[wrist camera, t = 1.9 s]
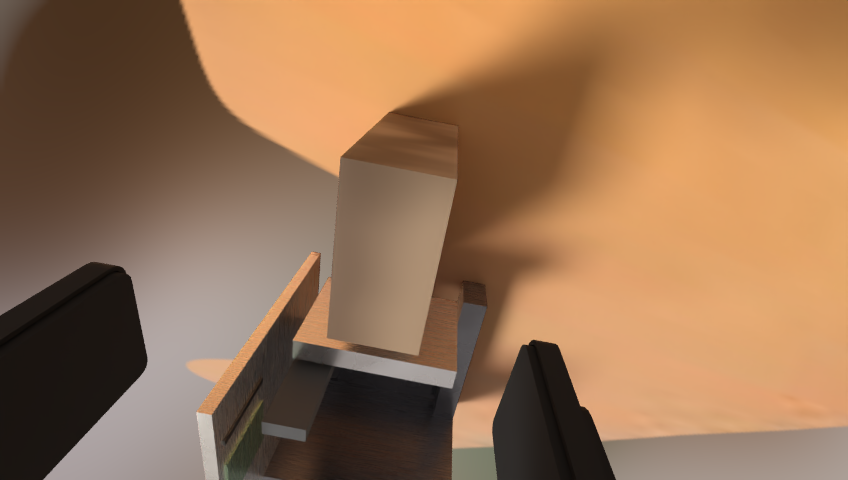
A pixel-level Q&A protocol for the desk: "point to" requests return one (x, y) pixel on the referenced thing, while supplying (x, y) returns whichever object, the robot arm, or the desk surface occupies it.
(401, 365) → the plate
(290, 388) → the dark flat plank
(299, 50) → the desk surface
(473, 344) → the stand
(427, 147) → the push block
